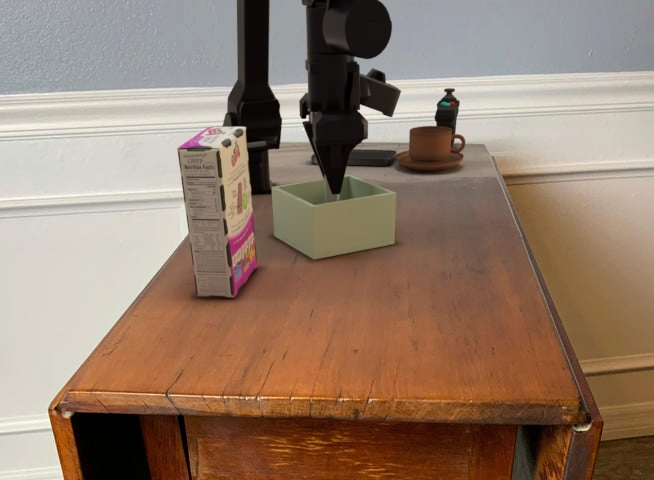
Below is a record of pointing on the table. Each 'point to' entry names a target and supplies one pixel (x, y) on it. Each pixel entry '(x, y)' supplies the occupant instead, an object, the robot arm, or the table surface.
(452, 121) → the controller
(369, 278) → the table surface
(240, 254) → the candy bar box
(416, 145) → the cup and saucer
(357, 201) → the open square storage bin
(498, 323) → the table surface
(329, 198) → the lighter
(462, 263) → the table surface
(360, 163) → the phone
